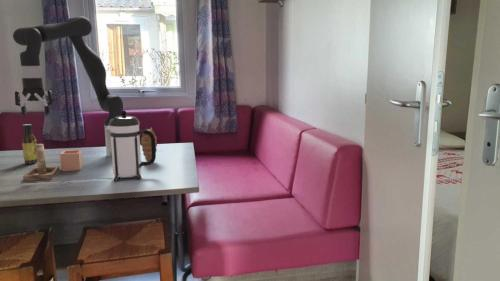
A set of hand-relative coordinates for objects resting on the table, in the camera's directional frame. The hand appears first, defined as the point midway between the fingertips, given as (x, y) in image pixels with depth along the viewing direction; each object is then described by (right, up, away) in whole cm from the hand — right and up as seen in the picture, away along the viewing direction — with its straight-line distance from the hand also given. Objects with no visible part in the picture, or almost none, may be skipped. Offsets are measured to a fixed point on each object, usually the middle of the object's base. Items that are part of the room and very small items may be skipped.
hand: (36, 115), depth 162 cm
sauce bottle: (-20, -23, +31) cm, 43 cm away
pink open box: (+8, -25, +17) cm, 31 cm away
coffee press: (+39, -28, +7) cm, 48 cm away
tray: (0, -27, +5) cm, 28 cm away
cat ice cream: (+41, -22, +32) cm, 56 cm away
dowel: (0, -27, +5) cm, 27 cm away
